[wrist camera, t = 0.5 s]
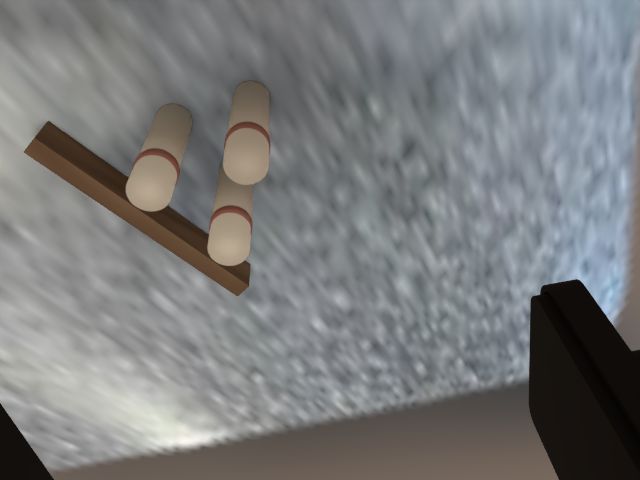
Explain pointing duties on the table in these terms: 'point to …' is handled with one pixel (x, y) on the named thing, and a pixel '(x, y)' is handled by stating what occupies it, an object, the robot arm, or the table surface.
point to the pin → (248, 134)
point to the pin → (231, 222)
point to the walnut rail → (131, 205)
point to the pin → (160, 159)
